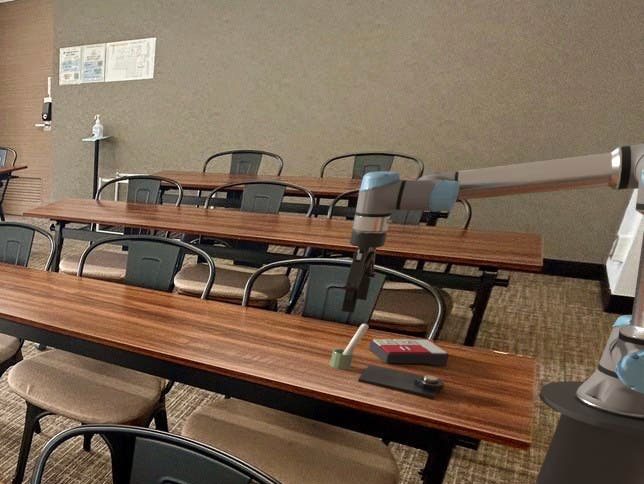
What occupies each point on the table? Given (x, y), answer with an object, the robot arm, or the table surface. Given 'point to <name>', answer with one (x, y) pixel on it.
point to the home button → (430, 379)
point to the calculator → (408, 351)
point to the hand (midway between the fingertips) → (354, 305)
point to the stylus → (356, 339)
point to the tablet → (400, 381)
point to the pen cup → (341, 359)
